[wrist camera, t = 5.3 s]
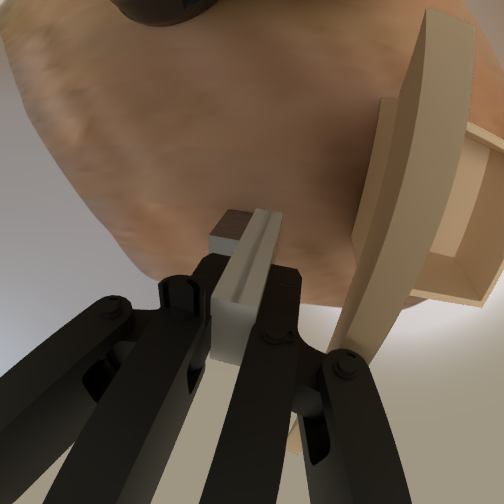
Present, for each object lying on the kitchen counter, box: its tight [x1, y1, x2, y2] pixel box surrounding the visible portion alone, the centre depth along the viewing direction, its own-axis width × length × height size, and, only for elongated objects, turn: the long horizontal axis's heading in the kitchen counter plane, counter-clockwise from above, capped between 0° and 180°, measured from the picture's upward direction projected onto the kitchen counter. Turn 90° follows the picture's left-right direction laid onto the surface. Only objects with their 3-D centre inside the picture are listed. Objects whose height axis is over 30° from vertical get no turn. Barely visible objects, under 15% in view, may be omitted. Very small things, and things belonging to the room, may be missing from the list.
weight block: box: [209, 210, 253, 256], centre depth 33 cm, size 8×5×7 cm, turn 174°
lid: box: [286, 7, 475, 454], centre depth 13 cm, size 17×16×1 cm
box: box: [351, 98, 504, 308], centre depth 23 cm, size 17×16×10 cm
